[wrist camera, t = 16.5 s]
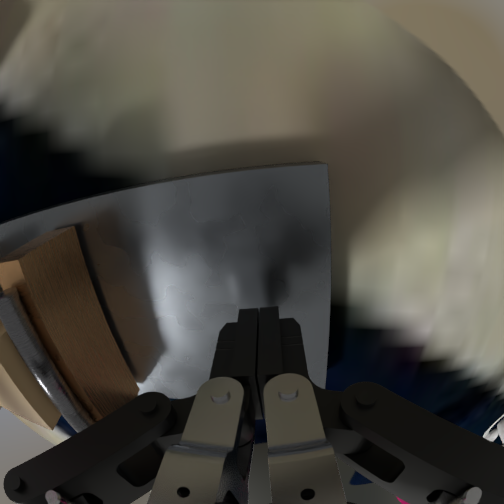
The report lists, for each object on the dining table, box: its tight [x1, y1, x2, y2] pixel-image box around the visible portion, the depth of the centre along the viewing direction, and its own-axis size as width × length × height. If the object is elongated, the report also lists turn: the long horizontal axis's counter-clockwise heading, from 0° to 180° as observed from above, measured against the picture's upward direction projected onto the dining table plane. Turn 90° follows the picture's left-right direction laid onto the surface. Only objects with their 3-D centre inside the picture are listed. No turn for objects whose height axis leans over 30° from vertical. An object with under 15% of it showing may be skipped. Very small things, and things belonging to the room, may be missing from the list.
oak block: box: [0, 290, 62, 431], centre depth 10 cm, size 5×5×6 cm
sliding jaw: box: [0, 226, 140, 433], centre depth 10 cm, size 2×10×5 cm, turn 7°
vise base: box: [0, 161, 331, 399], centre depth 11 cm, size 20×12×6 cm, turn 97°
